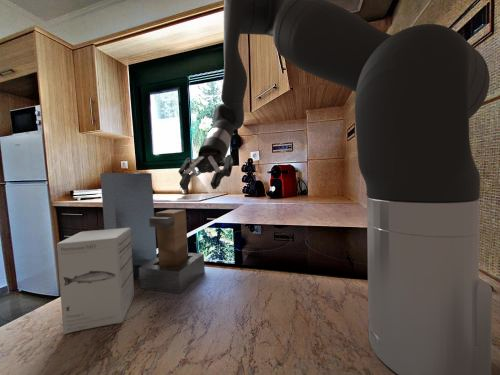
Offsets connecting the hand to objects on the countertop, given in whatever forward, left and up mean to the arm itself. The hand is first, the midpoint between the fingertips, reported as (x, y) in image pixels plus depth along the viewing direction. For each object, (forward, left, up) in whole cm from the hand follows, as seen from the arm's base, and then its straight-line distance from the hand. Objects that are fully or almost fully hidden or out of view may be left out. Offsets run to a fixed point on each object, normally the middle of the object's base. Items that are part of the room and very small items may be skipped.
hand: (197, 187), depth 53 cm
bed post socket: (+3, +11, -18) cm, 21 cm away
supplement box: (+4, +23, -18) cm, 30 cm away
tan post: (0, +11, -18) cm, 21 cm away
